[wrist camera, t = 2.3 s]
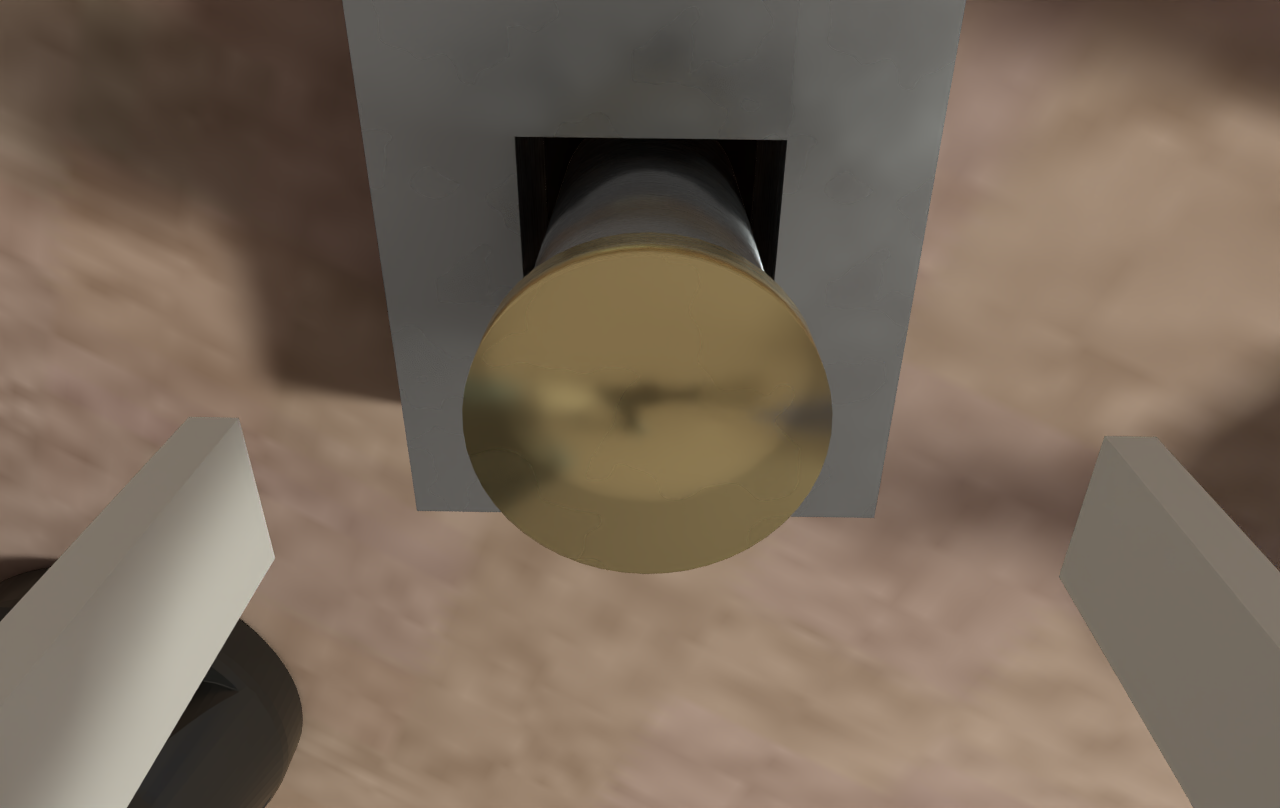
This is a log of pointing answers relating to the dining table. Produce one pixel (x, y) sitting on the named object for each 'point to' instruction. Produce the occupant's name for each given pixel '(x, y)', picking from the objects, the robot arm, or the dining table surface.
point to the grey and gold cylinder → (647, 371)
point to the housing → (652, 108)
